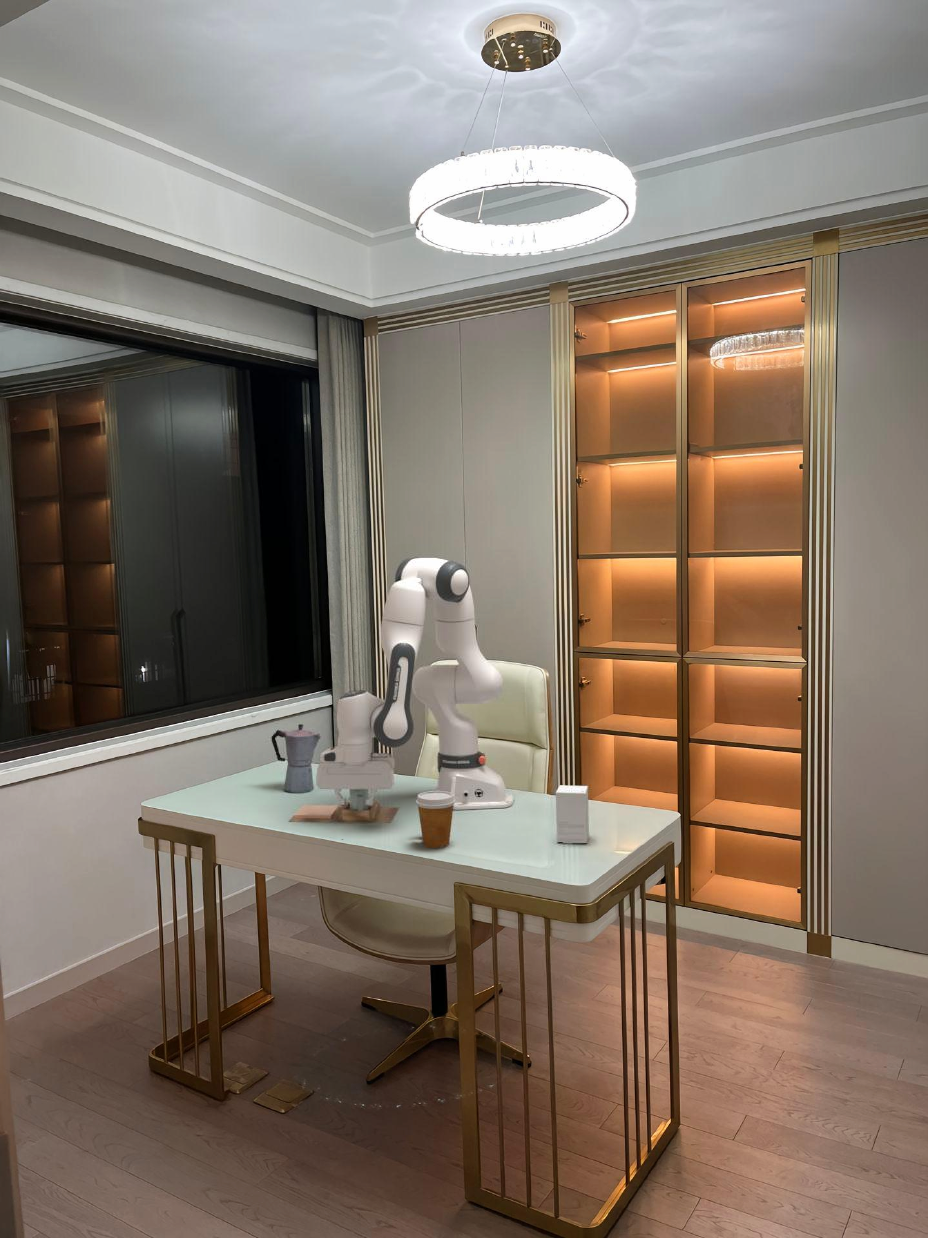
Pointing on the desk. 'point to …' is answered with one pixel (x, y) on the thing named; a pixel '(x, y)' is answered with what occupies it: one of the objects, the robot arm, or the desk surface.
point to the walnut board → (357, 815)
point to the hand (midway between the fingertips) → (356, 805)
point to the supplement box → (572, 814)
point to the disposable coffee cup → (435, 817)
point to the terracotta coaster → (316, 811)
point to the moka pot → (298, 758)
